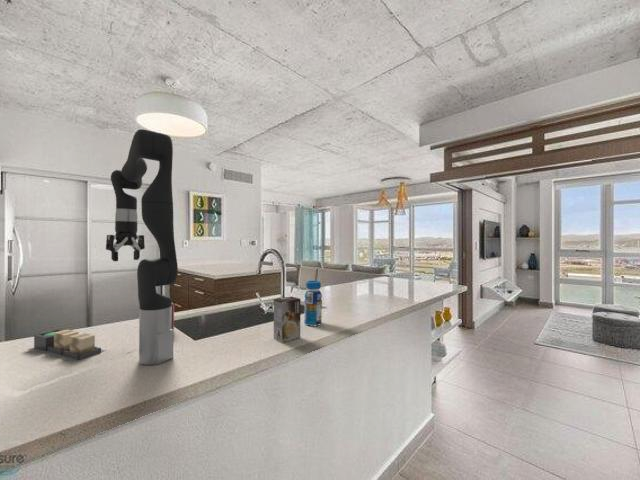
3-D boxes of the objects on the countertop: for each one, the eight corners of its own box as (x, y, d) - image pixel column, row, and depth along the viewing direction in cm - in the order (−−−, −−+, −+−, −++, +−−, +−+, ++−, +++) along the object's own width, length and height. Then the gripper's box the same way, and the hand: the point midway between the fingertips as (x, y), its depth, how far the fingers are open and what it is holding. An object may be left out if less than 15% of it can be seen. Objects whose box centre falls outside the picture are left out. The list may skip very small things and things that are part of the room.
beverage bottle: (301, 322, 138) (301, 280, 138) (317, 320, 142) (318, 279, 141) (308, 327, 130) (308, 283, 130) (324, 325, 134) (325, 282, 134)
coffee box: (291, 333, 122) (292, 296, 122) (300, 338, 117) (301, 298, 117) (272, 338, 116) (273, 298, 116) (281, 343, 111) (282, 301, 111)
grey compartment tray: (106, 353, 99) (106, 337, 99) (72, 365, 89) (72, 347, 89) (62, 342, 108) (62, 327, 108) (27, 352, 99) (27, 336, 99)
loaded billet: (78, 349, 100) (78, 331, 100) (64, 353, 96) (64, 335, 96) (67, 346, 102) (67, 329, 102) (53, 350, 98) (53, 332, 98)
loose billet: (94, 353, 96) (94, 335, 96) (81, 357, 93) (81, 339, 93) (83, 350, 99) (83, 332, 99) (69, 354, 95) (69, 336, 95)
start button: (63, 341, 103) (63, 332, 103) (48, 345, 99) (48, 336, 99) (56, 339, 105) (56, 331, 105) (41, 343, 101) (41, 334, 101)
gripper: (114, 219, 109) (114, 262, 109) (149, 221, 122) (148, 259, 123) (101, 219, 112) (101, 261, 112) (136, 221, 125) (136, 258, 125)
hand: (126, 260), depth 117 cm, fingers open, 8 cm apart
